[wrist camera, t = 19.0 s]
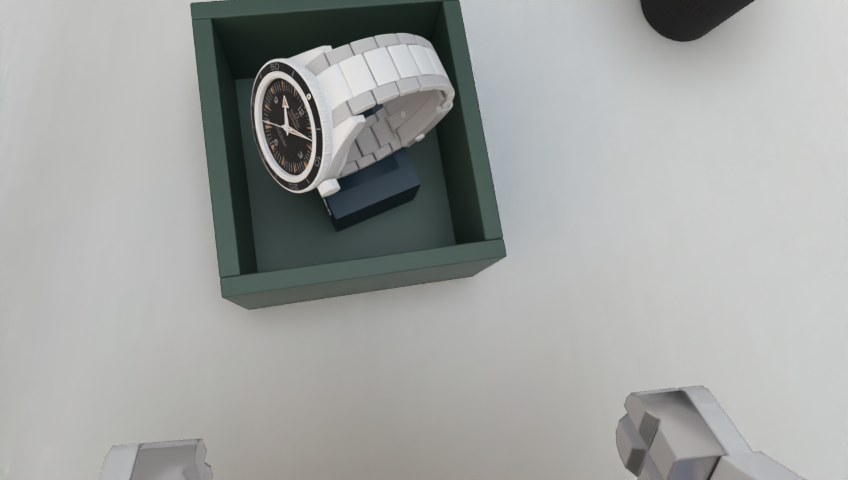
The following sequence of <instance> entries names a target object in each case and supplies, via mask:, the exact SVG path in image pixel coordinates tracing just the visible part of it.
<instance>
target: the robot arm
mask: <svg viewBox="0 0 848 480" xmlns="http://www.w3.org/2000/svg"><path fill="white" fill-rule="evenodd" d="M624 407H625V409H626V411H627V414H626V415H625V416H624V417H623V418H621V419H620V420H619V422H618V426H617V430H616V442H617V448H618V451H619V455H620V458H621V460H622V462H623V464H624V466H625V468H626V469H628V470H629V471H630V472H632V473H633V474H634V475H636V476H637V477H638V478H637V480H806V479H804V478H802V477H801V476H799V475H798V474H796V473H794V472H793V471H791V470H789V469H788V468H786V467H785V466H783V465H781V464H780V463H778V462H777V461H775V460H773V459H772V458H770V457H769V456H767V455H765V454H764V453H762V452H761V451H760V452H753V451H752V449H751V448H750V446H749V445H748V444H747V442H746V441H745V439H744V438H743V437H742V435H741V434H740V432H739V431H738V430H737V428H736V427H735V425H734V424H733V423H732V421H731V420H730V419H729V417H728V416H727V414H726V413H725V412H724V410H723V409H722V407H721V406H720V405H719V403H718V402H717V400H716V399H715V398H714V396H713V395H712V393H711V392H710V391H709V390H708V389H707V388H706V387H704V386H703V385H702V386H692V387H682V388H668V389H660V390H651V391H643V392H635V393H631V394H630V395H628V396H627V398H626V401H625V404H624ZM205 457H206V447H205V444H204V441H203V439H191V440H178V441H165V442H153V443H141V444H130V445H119V446H112V447H111V448H110V450H109V451H108V453H107V454H106V456H105V460H104V463H103V466H102V469H101V472H100V475H99V479H98V480H213V474H212V470H211V466H210V465H208V464H207V463H205Z"/></svg>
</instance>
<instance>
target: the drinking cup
mask: <svg viewBox="0 0 848 480" xmlns="http://www.w3.org/2000/svg"><path fill="white" fill-rule="evenodd" d="M753 1H754V0H641V5H642V9H643V12H644V15H645V17H646V19H647V20H648V22H649V23H650V24H651V26H652V27H653V28H654V29H655V30H657V31H658V32H659V33H661V34H662V35H664V36H666V37H668V38H670V39H673V40H678V41H691V40H695V39H698V38H700V37H702V36H703V35H705V34H706V33H708V32H709V31H711V30H712V29H714V28H715V27H716V26H718V25H719V24H721V23H722V22H724V21H725V20H727V19H728V18H730V17H731V16H732V15H734V14H735V13H737V12H738V11H740V10H741V9H743V8H744V7H746V6H747V5H748V4H750V3H751V2H753Z"/></svg>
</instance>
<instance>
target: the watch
mask: <svg viewBox="0 0 848 480" xmlns="http://www.w3.org/2000/svg"><path fill="white" fill-rule="evenodd" d="M350 47H351V48H350ZM351 49H352V50H351ZM352 51H353V52H352ZM454 95H455V92H454V89H453V87H452V85H451V83H450V80H449V78H448V76H447V74H446V72H445V70H444V68H443V66H442V64H441V62H440V60H439V58H438V56H437V54H436V52H435V50H434V48H433V46H432V44H431V43H430V42H429V41H428V40H426V39H425V38H423V37H420V36H417V35H413V34H408V33H396V34H383V35H377V36H374V38H373V37H369V38H365V39H361V40H358V41H354V42H351V43H350V46H349V45H348V44H347V45H344V46H341V47H338V48H336V49H333V50H332V48H331V46H320V47H318V48H315V49H312V50H309V51H306V52H304V53H301V54H299V55H296V56H293V57H291V58H288V59H283V58H282V59H274V60H270V61H268V62H267V63H266V64H265V65H264V66H263V67H262V68H261V70H260V71H259V72H258V74H257V76H256V79H255V82H254V86H253V91H252V98H251V118H252V127H253V132H254V137H255V140H256V144H257V147H258V150H259V153H260V155H261V158H262V160H263V162H264V164H265V166H266V167H267V169H268V171H269V172H270V174H271V175H272V176H273V178H274V179H275V180H276V181H277V182H278V183H279V184H280V185H281V186H282V187H284V188H285V189H287V190H289V191H291V192H295V193H303V192H307V191H310V190H312V189H314V188H317V190H318V192H319V194H320V197H321V199H322V201H323V203H324V205H325V208H326V210H327V212H328V214H329V217H330V219H331V221H332V223H333V225H334V228H335V230H336V232H339V231H342V230H344V229H346V228H349V227H351V226H353V225H356V224H358V223H360V222H363V221H365V220H367V219H370V218H372V217H374V216H377V215H379V214H381V213H384V212H386V211H388V210H391V209H393V208H396V207H398V206H400V205H403V204H405V203H407V202H410V201H412V200H414V198H415V196H416V194H417V192H418V190H419V187H420V185H421V182H420V180H419V178H418V175H417V173H416V171H415V169H414V167H413V165H412V163H411V161H410V159H409V156H408V154H407V152H406V150H405V148H404V147H410V146H411V145H412V144H414V143H415V142H416V141H417V142H418V141H421V140H422V139H423V138H424V137H425V134H426V133H427V132H429V131H430V130H431V129H432V128H433V127H434V126H435V125H436V124H437V123H438V122H439V121H440V120H441V119H442V118H443V117H444V116H445V115H446V114H447V113H448V112H449V111H450V110H451V108H452V106H453V102H452V100H453V98H454Z"/></svg>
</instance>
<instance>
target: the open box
mask: <svg viewBox="0 0 848 480" xmlns="http://www.w3.org/2000/svg"><path fill="white" fill-rule="evenodd" d="M190 7H191V16H192V27H193V36H194V45H195V54H196V64H197V73H198V82H199V91H200V101H201V110H202V119H203V128H204V137H205V147H206V156H207V165H208V174H209V184H210V193H211V202H212V211H213V220H214V230H215V239H216V248H217V257H218V267H219V276H220V284H221V293H222V297H223V298H225V299H227V300H229V301H231V302H233V303H235V304H238V305H240V306H242V307H244V308H246V309H249V310H250V309H256V308H263V307H270V306H276V305H283V304H290V303H297V302H303V301H310V300H317V299H323V298H330V297H337V296H343V295H350V294H357V293H364V292H370V291H377V290H384V289H390V288H397V287H404V286H411V285H417V284H424V283H431V282H437V281H444V280H451V279H457V278H464V277H471V276H473V275H475V274H477V273H479V272H480V271H482V270H484V269H485V268H487V267H489V266H491V265H492V264H494V263H496V262H497V261H499V260H501V259H502V258H504V257H506V250H505V245H504V240H503V239H502V238H503V234H502V229H501V223H500V218H499V212H498V207H497V202H496V196H495V191H494V185H493V180H492V175H491V169H490V164H489V158H488V153H487V148H486V142H485V137H484V131H483V126H482V120H481V115H480V110H479V104H478V99H477V93H476V88H475V83H474V77H473V72H472V66H471V61H470V56H469V50H468V45H467V39H466V34H465V29H464V23H463V18H462V12H461V7H460V2H459V0H225V1H211V2H197V3H191V5H190ZM396 33H408V34H413V35H417V36H420V37H423V38H425V39H426V40H428V41H429V42H430V43H431V44H432V46H433V48H434V50H435V52H436V54H437V56H438V58H439V60H440V62H441V64H442V66H443V68H444V70H445V72H446V74H447V76H448V78H449V80H450V83H451V85H452V87H453V89H454V92H455V95H454V98H453V100H452V102H453V106H452V108H451V110H450V111H449V112H448V113H447V114H446V115H445V116H444V117H443V118H442V119H441V120H440V121H439V122H438V123H437V124H436V125H435V126H434V127H433V128H432V129H431V130H430V131H429V132H427V133H426V134H425V137H424V138H423V139H422V140H421V141H418V142H417V141H416V142H415V143H414V144H412V145H411V146H410V147H404V148H405V150H406V152H407V154H408V156H409V159H410V161H411V163H412V165H413V167H414V169H415V171H416V173H417V175H418V178H419V180H420V182H421V185H420V187H419V190H418V192H417V194H416V196H415V198H414V200H412V201H410V202H407V203H405V204H403V205H400V206H398V207H396V208H393V209H391V210H388V211H386V212H384V213H381V214H379V215H377V216H374V217H372V218H370V219H367V220H365V221H363V222H360V223H358V224H356V225H353V226H351V227H349V228H346V229H344V230H342V231H339V232H336V230H335V228H334V225H333V223H332V221H331V219H330V217H329V214H328V212H327V210H326V208H325V205H324V203H323V201H322V199H321V197H320V194H319V192H318V190H317V188H314V189H312V190H310V191H307V192H303V193H295V192H291V191H289V190H287V189H285V188H284V187H282V186H281V185H280V184H279V183H278V182H277V181H276V180H275V179H274V178H273V176H272V175H271V174H270V172H269V171H268V169H267V167H266V166H265V164H264V162H263V160H262V158H261V155H260V153H259V150H258V147H257V144H256V140H255V137H254V132H253V127H252V118H251V98H252V91H253V86H254V82H255V79H256V76H257V74H258V72H259V71H260V70H261V68H262V67H263V66H264V65H265V64H266V63H267V62H268V61H270V60H274V59H282V58H283V59H288V58H291V57H293V56H296V55H299V54H301V53H304V52H306V51H309V50H312V49H315V48H318V47H320V46H331V48H332V50H333V49H336V48H338V47H341V46H344V45H347V44H348V45H349V46H350V43H351V42H354V41H358V40H361V39H365V38H369V37H373V38H374V36H377V35H383V34H396ZM350 48H351V47H350ZM351 50H352V49H351ZM352 52H353V51H352Z"/></svg>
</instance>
